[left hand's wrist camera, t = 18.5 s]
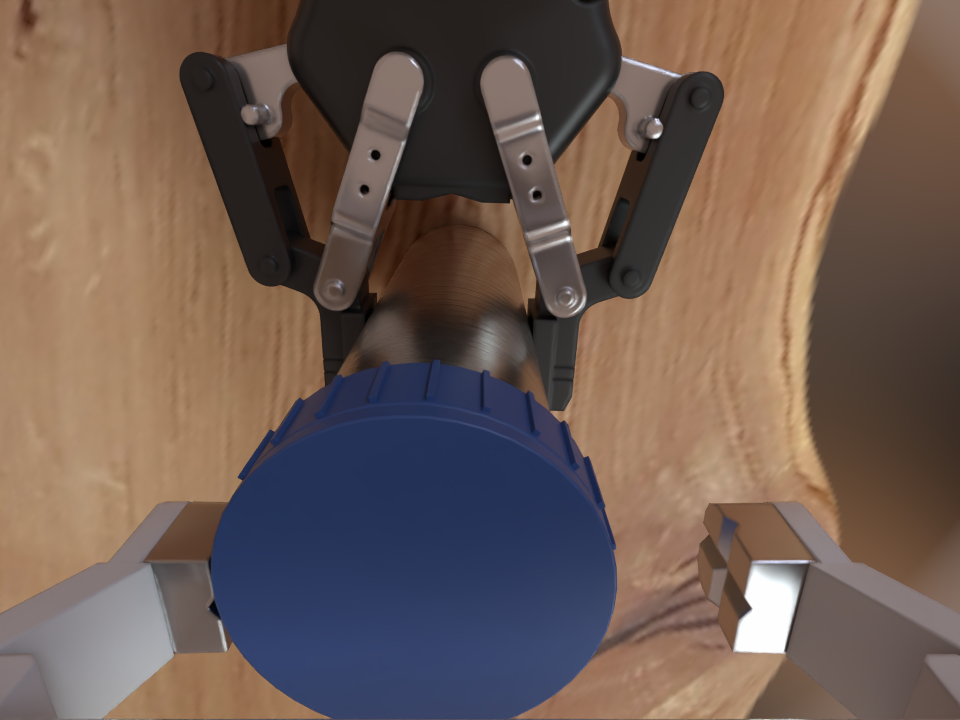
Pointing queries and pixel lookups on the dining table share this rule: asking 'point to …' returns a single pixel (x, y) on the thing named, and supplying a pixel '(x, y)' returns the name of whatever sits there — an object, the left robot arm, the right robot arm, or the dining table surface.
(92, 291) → the dining table surface
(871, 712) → the left robot arm
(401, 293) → the jar
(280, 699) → the dining table surface
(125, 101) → the dining table surface
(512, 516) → the lid
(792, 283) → the dining table surface
